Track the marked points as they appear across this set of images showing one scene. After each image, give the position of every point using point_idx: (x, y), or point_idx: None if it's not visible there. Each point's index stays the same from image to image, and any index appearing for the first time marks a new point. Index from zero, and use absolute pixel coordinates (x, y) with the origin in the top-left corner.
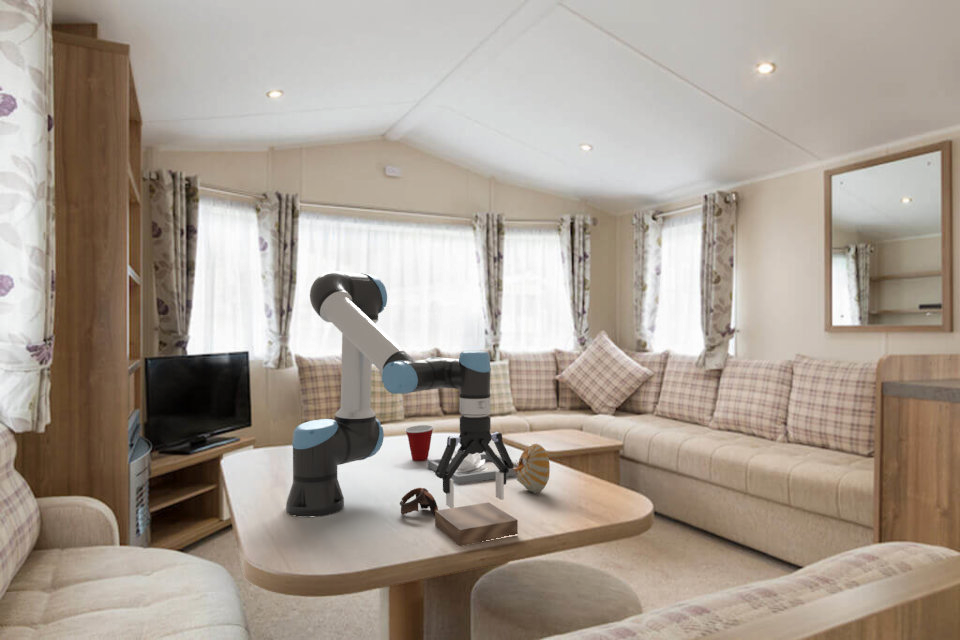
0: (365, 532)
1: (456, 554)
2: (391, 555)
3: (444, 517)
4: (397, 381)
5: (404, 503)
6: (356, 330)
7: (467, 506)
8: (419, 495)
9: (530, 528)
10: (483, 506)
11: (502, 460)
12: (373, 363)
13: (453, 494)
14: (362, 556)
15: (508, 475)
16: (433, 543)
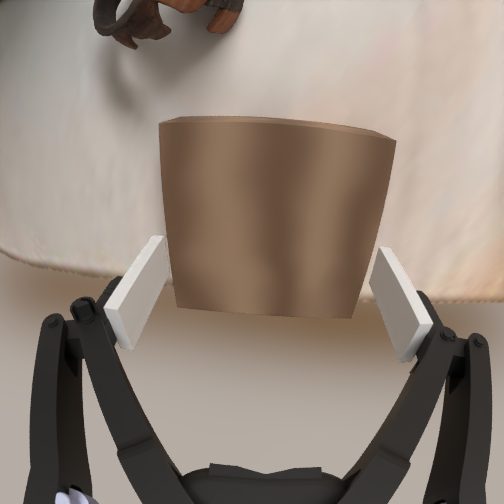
0: (33, 85)
1: None
2: (63, 231)
3: (165, 205)
4: None
5: (95, 16)
6: None
7: (297, 135)
8: (124, 18)
9: (412, 248)
10: (352, 169)
11: (469, 365)
12: None
13: (153, 304)
14: (25, 212)
15: None
16: (144, 213)
